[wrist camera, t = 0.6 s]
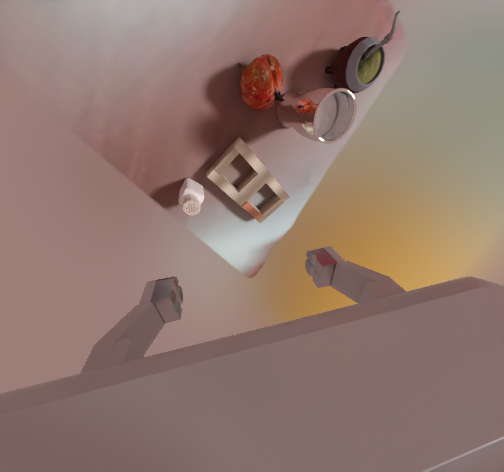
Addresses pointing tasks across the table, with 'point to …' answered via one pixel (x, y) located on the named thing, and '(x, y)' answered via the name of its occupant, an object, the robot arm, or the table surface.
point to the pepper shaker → (191, 197)
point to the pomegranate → (261, 82)
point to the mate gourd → (361, 62)
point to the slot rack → (247, 181)
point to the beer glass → (318, 113)
